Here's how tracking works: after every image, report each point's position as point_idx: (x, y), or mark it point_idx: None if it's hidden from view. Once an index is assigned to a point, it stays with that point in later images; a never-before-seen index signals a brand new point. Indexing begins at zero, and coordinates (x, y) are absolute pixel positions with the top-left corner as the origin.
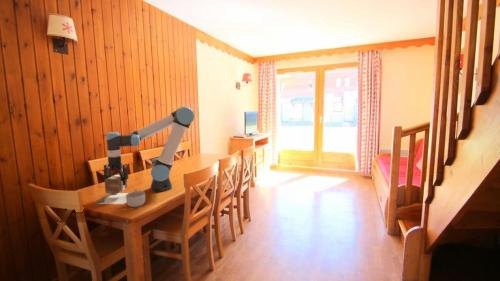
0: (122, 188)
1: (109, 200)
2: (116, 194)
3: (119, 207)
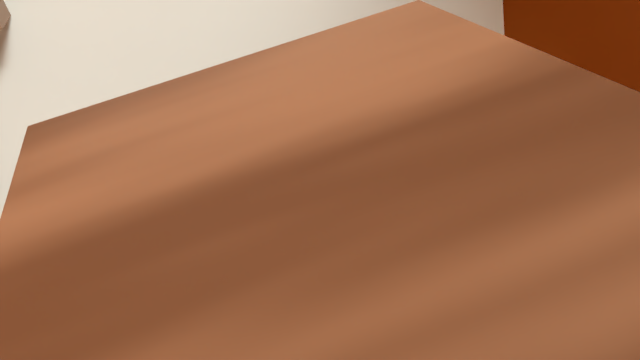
0: None
1: None
2: (7, 8)
3: None
